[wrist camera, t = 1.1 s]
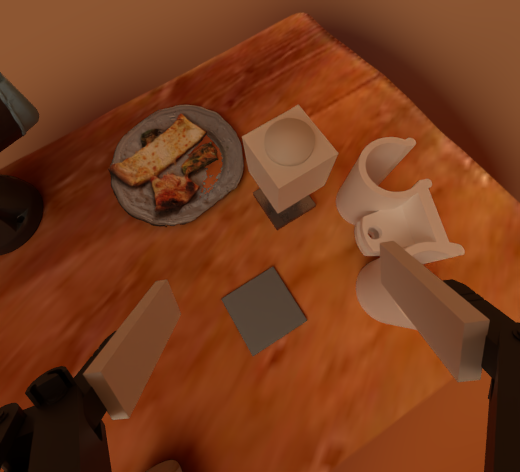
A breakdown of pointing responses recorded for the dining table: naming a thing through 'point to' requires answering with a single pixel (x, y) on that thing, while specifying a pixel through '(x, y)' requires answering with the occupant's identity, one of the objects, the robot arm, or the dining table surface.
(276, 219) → the post
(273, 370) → the dining table surface
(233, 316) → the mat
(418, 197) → the bracket
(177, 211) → the food plate
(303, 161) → the beige block piece
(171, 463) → the ceramic mug
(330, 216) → the dining table surface
